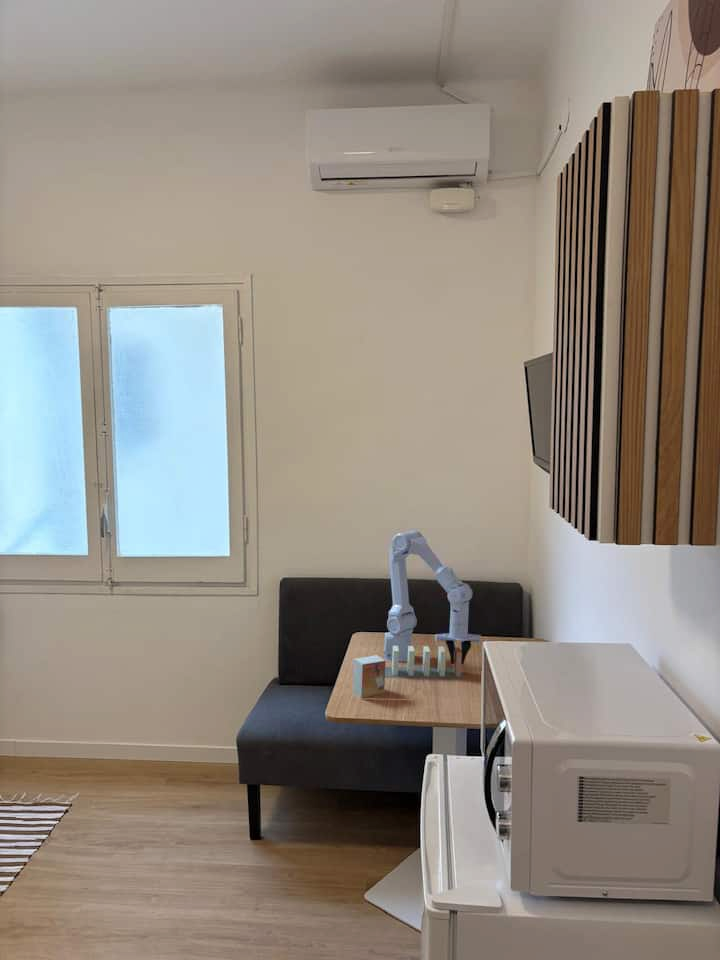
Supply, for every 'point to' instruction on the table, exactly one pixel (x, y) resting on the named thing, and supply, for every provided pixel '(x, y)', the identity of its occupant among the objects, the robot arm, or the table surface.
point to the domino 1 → (395, 660)
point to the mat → (419, 673)
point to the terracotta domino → (457, 662)
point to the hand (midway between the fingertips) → (457, 663)
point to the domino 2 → (410, 661)
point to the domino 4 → (441, 661)
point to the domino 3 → (426, 660)
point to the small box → (369, 676)
